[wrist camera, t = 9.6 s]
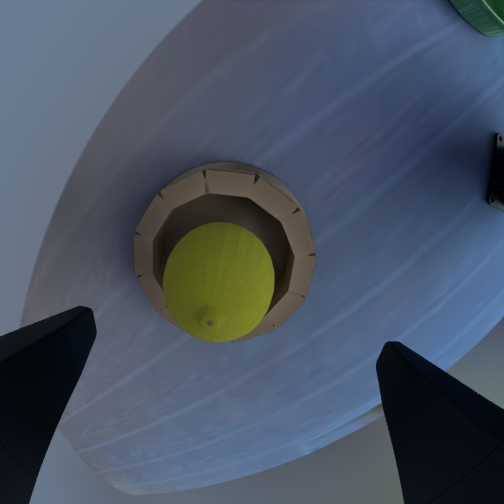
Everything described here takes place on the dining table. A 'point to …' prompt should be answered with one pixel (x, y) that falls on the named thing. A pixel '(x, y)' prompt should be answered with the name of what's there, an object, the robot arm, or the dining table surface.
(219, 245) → the lemon
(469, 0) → the ramekin
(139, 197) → the dining table surface
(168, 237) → the wooden bowl
